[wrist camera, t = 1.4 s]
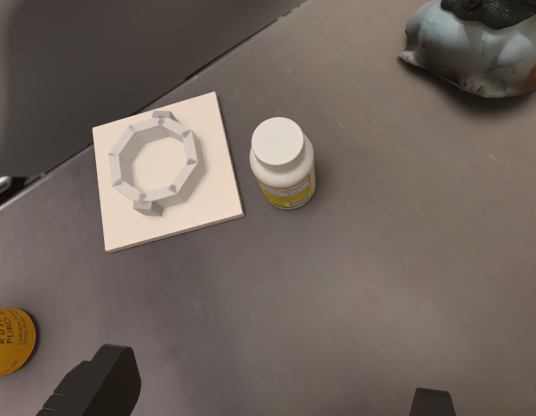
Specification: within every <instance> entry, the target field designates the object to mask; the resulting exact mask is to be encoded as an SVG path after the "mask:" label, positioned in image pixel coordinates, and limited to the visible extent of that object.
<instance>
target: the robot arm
mask: <svg viewBox="0 0 536 416" xmlns="http://www.w3.org/2000/svg"><path fill="white" fill-rule="evenodd" d="M140 390H141V378H140V375H139V371H138V367H137V363H136V360H135V356H134V352H133V349H132V348H131V347H127V346H120V345H113V344H104V345H103V346H102V347H101V348H100V349H99V350H98V352H97V353H96V354H95V356H94V357H93V359H92V360H91V361H82V362H81V363H80V364H79V365H77V366H76V367H75V368H74V369H72V370H71V371H70V372H69V373H67V374H66V376H65V377H64V378H63V380H62V381H61V382H60V384H59V385H58V386H57V388H56V389H55V390H54V393H53V395H51V396H50V397H49V399H48V400H47V401H46V403H45V404H44V405H43V409H42V410H40V411H39V412H38V413H37V415H36V416H130V415H131V413H132V411H133V409H134V407H135V405H136V403H137V401H138V398H139V395H140ZM409 416H456V414H455V411H454V407H453V403H452V399H451V396H450V394H449V393H448V392H447V391H440V390H433V389H426V388H417V389H416V391H415V395H414V399H413V403H412V407H411V411H410V415H409Z"/></svg>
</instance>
